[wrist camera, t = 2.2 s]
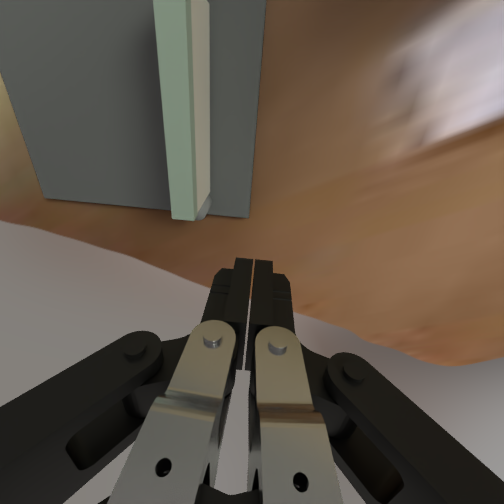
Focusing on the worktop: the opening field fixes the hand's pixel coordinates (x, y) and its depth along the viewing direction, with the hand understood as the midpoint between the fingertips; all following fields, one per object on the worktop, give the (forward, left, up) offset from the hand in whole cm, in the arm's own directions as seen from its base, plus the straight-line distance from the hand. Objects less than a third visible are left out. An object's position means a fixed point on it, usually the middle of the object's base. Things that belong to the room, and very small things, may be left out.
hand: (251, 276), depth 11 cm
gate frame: (-7, -12, -19) cm, 24 cm away
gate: (-5, -6, -17) cm, 19 cm away
